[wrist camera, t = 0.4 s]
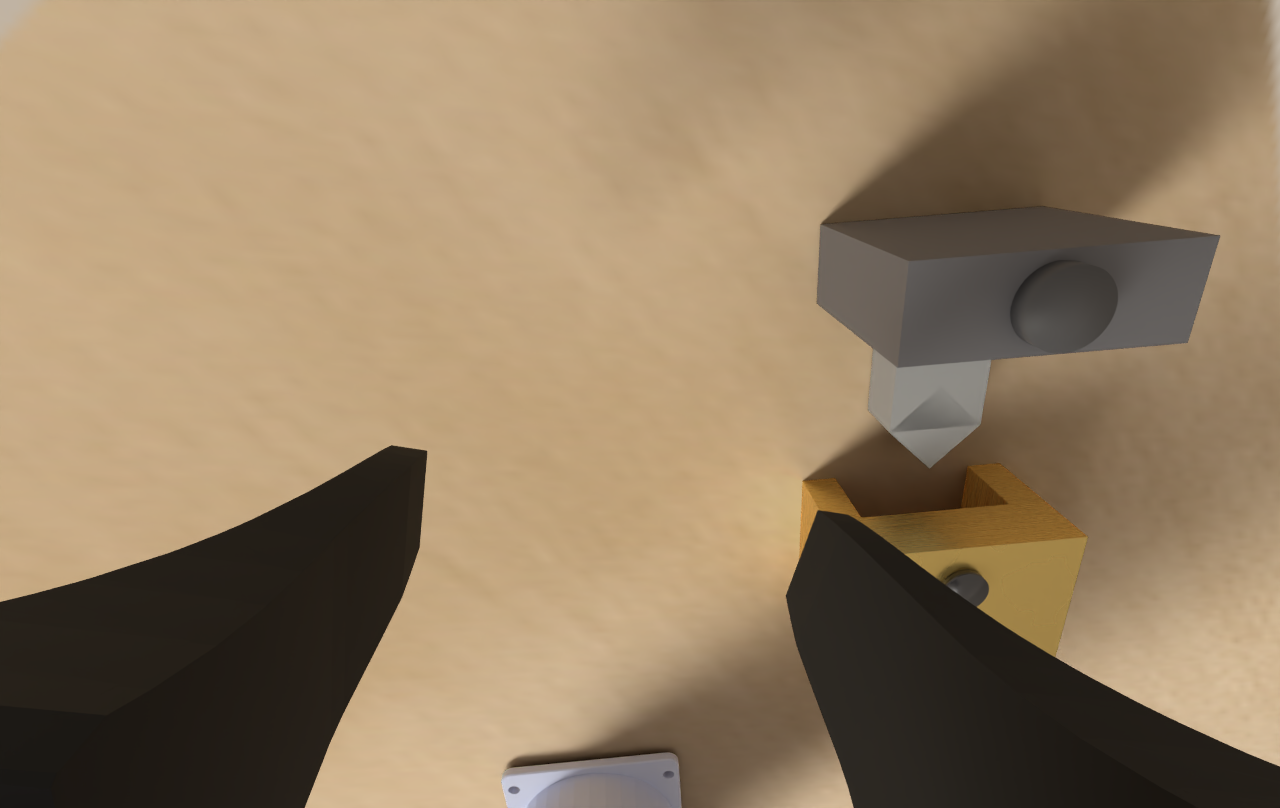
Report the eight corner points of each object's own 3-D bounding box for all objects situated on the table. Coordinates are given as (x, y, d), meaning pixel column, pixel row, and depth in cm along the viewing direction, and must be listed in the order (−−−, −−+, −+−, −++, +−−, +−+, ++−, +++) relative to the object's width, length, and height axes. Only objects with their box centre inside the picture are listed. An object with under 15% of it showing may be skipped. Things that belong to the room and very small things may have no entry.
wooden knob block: (974, 590, 25) (1054, 687, 21) (797, 606, 25) (838, 708, 21) (999, 463, 23) (1095, 542, 18) (802, 480, 23) (851, 565, 18)
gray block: (1000, 435, 22) (1147, 547, 16) (810, 452, 22) (886, 571, 16) (1043, 206, 19) (1246, 240, 13) (820, 224, 19) (921, 266, 13)
